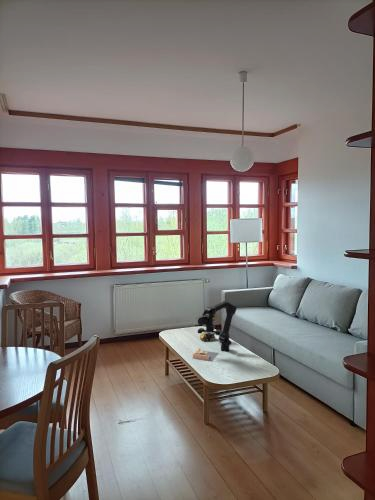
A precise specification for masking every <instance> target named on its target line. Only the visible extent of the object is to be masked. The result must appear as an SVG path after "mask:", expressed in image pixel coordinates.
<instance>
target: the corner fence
mask: <svg viewBox="0 0 375 500" xmlns="http://www.w3.org/2000/svg"><path fill="white" fill-rule="evenodd" d="M197 350H201V347H199V348H198V349H197ZM197 350H195V351H194V352H193V353H192V359H194V358H196V359H195V360H200V359H202V360H203V361H207V360H209V356H206V355H199V354H195V352H196V351H197Z"/></svg>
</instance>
